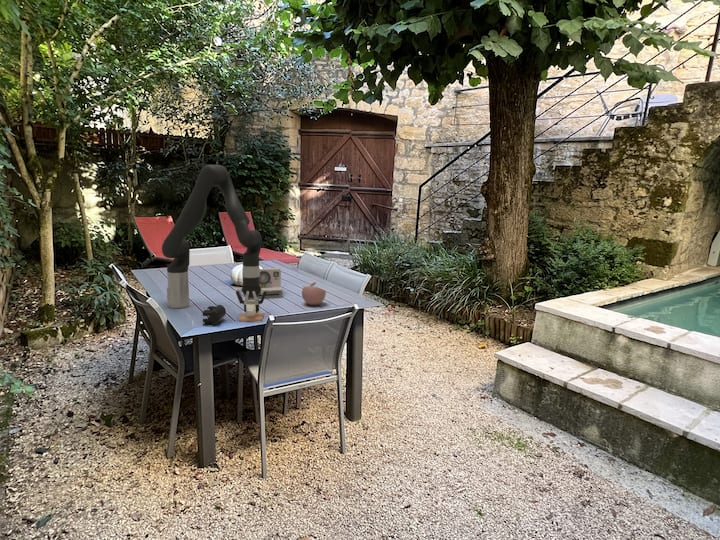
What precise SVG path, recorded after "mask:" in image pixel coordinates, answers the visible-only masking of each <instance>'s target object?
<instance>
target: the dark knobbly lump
mask: <svg viewBox="0 0 720 540" xmlns="http://www.w3.org/2000/svg"><path fill="white" fill-rule="evenodd" d="M226 314H227V310H226V308H225V306H224V305H221V304H218V305H217V306H207V309H204V310H203V311H202V316H203V317H207V318H203V319H202V323H203V326H204V325H214V326H215V325H217V324H218V323H219V322H221V320H222V319H223V318H224V317H225V316H226Z"/></svg>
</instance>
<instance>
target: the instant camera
mask: <svg viewBox="0 0 720 540" xmlns="http://www.w3.org/2000/svg"><path fill="white" fill-rule="evenodd" d="M281 275H282V271H281V269H280V268H278V267H274V268H260V288H261V290H264V291H265V290H266V291H267V292H266V295H265V298H264V300H269V298H272V299H282V298H283V287H281V284H282V279H281V278H282V276H281ZM242 294H243V296H244V297H245V295H244V293H243V292H242ZM261 298H262V295H261V292H260V293H259V294H258V299H259V300H261ZM249 300H254V298H252V297H251V298H248V301H249Z"/></svg>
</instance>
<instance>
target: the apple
mask: <svg viewBox="0 0 720 540" xmlns="http://www.w3.org/2000/svg"><path fill="white" fill-rule="evenodd" d="M315 285H317V283H316V282H315V281H314V282H312V283H310V286H303V287H302V289H301V296H302V297H301V298H302V299H303V301H304V302H305V303H306V304H307V305H310V306H317V305H320V304H322V302H324V301H325V298H326V294H327V292H326V290H325V289H323V288H320V287H317V286H315Z"/></svg>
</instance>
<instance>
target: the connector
mask: <svg viewBox="0 0 720 540" xmlns="http://www.w3.org/2000/svg"><path fill="white" fill-rule="evenodd" d="M245 313H246V316H255V315H256V302H255V300H248V302H247V303H246V312H245Z"/></svg>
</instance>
